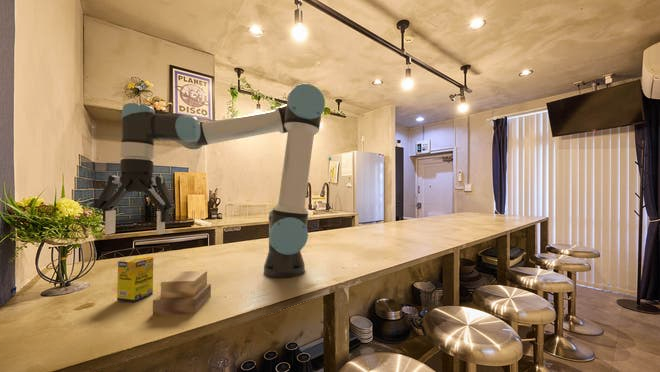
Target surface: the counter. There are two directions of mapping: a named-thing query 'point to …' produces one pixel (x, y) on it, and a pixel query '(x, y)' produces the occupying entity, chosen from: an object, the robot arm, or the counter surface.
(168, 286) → the oak block
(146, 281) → the supplement box
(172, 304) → the walnut base block
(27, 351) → the counter surface
